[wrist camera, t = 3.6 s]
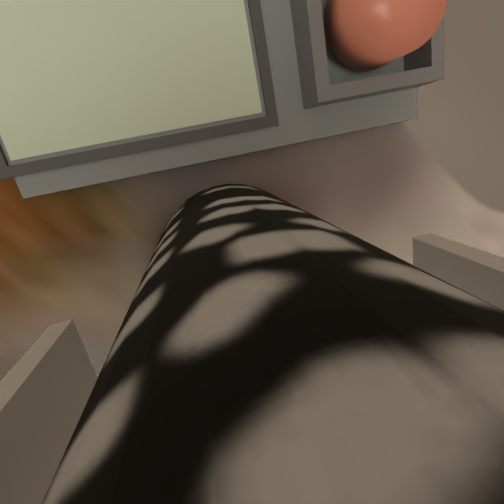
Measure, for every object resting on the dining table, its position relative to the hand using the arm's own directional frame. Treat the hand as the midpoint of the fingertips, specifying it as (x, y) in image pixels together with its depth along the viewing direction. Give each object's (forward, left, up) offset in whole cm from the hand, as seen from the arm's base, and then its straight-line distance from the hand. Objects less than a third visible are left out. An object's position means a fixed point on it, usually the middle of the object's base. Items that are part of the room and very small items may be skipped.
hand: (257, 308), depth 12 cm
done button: (+8, +10, -4) cm, 13 cm away
